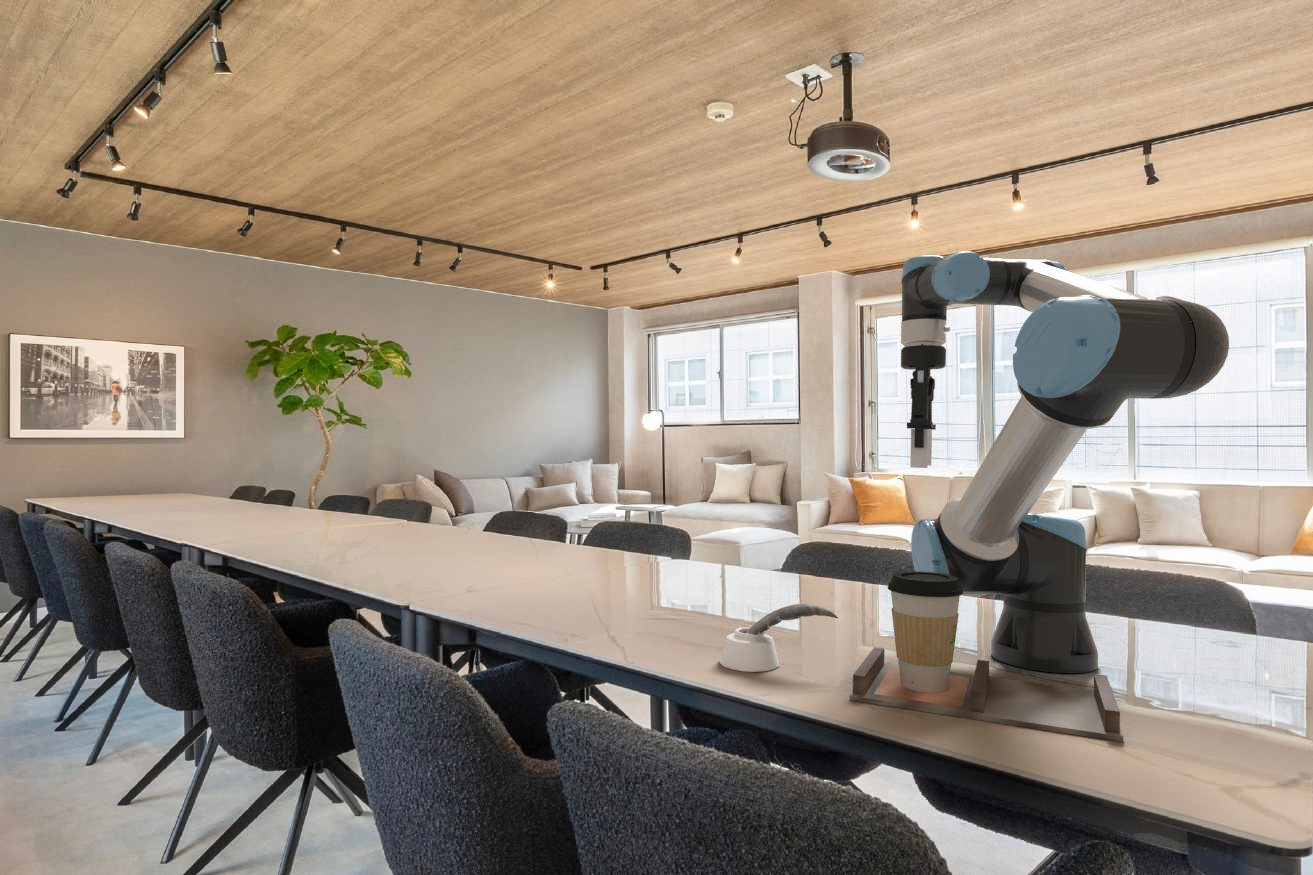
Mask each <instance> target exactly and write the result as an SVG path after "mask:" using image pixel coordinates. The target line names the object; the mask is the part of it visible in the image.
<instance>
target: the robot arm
mask: <svg viewBox="0 0 1313 875" xmlns="http://www.w3.org/2000/svg"><path fill="white" fill-rule="evenodd" d="M900 282H901V283H900V284H901V322H900V324H901V325H900V344H901V345H903V347H902V349H900V367H901V368H902V369H904V370H909V371H911V370H913V371H912V378H910V380H909V381H910V384H909V385H910V399H911V409H910V410H911V411H910V412H911V413H910V419H909V420H910V421H909V422H906V429H910V464H909V465H910V469H911V468H912V469H913V468H917V469H918V468H919V469H920V468H921V469H928V468H929V467H928V466H932V452H933V451H932V450H933V449H932V448H933V443H932V442H933V431H934V430H935V431H936V427H937V425H936V424H935V423H934V422H933V419H932V418H933V402H934V397H935V396H934V394H935V392H934V391H935V388H936V379H935V378H933V376H932V375H931V370H940V369H944V368H945V367H946V366H947V364H946V363H947V348H945V346H943V345H945V344H946V343H947V334H946V333H949V332H950V331H951V328H950V326H948V325H947V315H948V314H947V313H948V312H947V310H948V306H951V305H984V306H987V305H988V306H1014V307H1018V308H1021V309H1023V310H1026V311H1027V312H1031V313H1030V315H1029V316H1028V317H1027V318H1026V319H1025V321H1024V323H1023V324H1022V326H1021V327H1020V329H1019V332H1018V333H1017V336H1016V339H1015V343H1014V347H1015V348H1016V352H1014V353H1013V354H1012V367H1013V373H1014V376H1015V380H1016V383H1017V386H1016V387H1017V390H1018V392H1019V394H1020V395H1021V396H1020V398H1019V400H1018V402H1017V403H1016V404H1015V406H1014V408H1013V410H1012V412H1011V414H1009V416H1008V418H1007V420H1006V421H1005V424H1004V426H1003V427H1002V428H1001V431H1000V432H999V434H998V435H997V437H996V439H995V441H994V442H993V444H992V445H991V448H990V449H989V451H988V452H987V454H986V456H985V457H984V459H983V461H982V463H981V464H980V465H979V468H978V469H977V471H976V473H975V475H974V476H973V478H972V479H971V481H970V483H969V485H968V486H967V488H966V490H965V492H964V493H963V495H962V497H958V498H954V499H952V500H950V501H949V502H947V503H946V504H945V505H944V507H943V508H942V510H941V512H940V513H939V515H938V517H937V518H936V519H935V518H933V519H932V518H931V519H930V518H929V517H926V518H924V519H920V520H917V522H915V523H914V525H913V527H912V528H913V529H912V532H911V540H910V545H911V550H910V551H911V558H912V563H913V569H914V571H920V572H934V573H942V574H948V575H952V576H955V577H957V578H958V581H959V585H960V586H961V587H962V591H963V594H962V595H961V596H965V595H966V596H967V595H968V596H970V595H971V596H972V595H1003V603H1002V605H1003V607H1002V610H1001V613H1000V617H999V618H998V622H997V624H996V626H995V630H994V633H993V635H992V638H991V643H990V644H991V645H990V648H991V650H990V651H991V652H990V654H991V656H992V657H993V658H994V659H995V660H997V661H999V662H1001V663H1005V664H1007V665H1010V666H1014V667H1018V668H1023V669H1027V670H1032V671H1038V672H1046V673H1055V674H1056V673H1058V674H1083V673H1090V672H1094V671H1096V670H1097V669H1098V667H1099V652H1098V649H1097V646H1096V643H1095V638H1094V637H1093V634H1092V631H1091V628H1090V625H1089V623H1088V622H1089V621H1088V620H1087V616H1086V601H1087V600H1086V599H1087V597H1086V592H1087V591H1086V589H1087V588H1086V586H1087V585H1086V581H1087V580H1086V578H1087V577H1086V576H1087V574H1086V573H1087V568H1086V566H1087V565H1086V564H1087V552H1088V547H1087V538H1086V530H1085V527H1084V525H1083V524H1082V523H1081V522H1080V521H1078V520H1074V519H1070V518H1063V517H1056V516H1049V515H1042V514H1036V513H1031V512H1030V511H1031V510H1032V509H1033V507H1034V505H1035V504H1036V503H1037V501H1038V499H1039V498H1040V497H1041V496H1042V495H1043V493H1044V491H1045V490H1046V488H1047V487H1048V485H1049V484H1050V483H1051V482H1052V480H1053V478H1054V477H1055V475H1056V474H1057V473H1058V471H1059V469H1060V468H1061V467H1062V466H1063V464H1064V463H1065V461H1066V460H1067V458H1068V457H1069V456H1070V454H1071V453H1072V451H1073V450H1074V448H1075V447H1076V446H1077V444H1078V443H1079V441H1080V440H1081V439H1082V437H1083V436H1084V434H1085V433H1086V431H1087V430H1088V429H1089V430H1090V429H1097V428H1099V427H1102V426H1103V427H1104V426H1105V425H1106V424H1107V423H1109V422H1110V421H1111V420H1112V418H1113V417H1114V415H1115V414H1116V413H1117V411H1118V410H1119V409H1120V408H1121V406H1122V404H1123V403H1124V402H1125V401H1126V400H1129V399H1141V400H1142V399H1148V400H1150V399H1151V400H1152V399H1155V400H1156V399H1173V398H1178V397H1181V396H1183V397H1184V396H1186V395H1189V394H1192V393H1193V392H1196V391H1198V390H1200V389H1201V388H1202V387H1205V386H1206V385H1207V384H1209V383H1210V382H1212V381H1213V379H1215V377H1216V376H1217V375H1219V373H1220V371H1221V370H1222V368H1223V367H1224V365H1225V362H1226V360H1227V358H1228V356H1229V350H1230V336H1229V333H1228V330H1227V327H1226V326H1225V324H1224V322H1223V321H1222V319H1221V318H1220V317H1219V316H1218V315H1217V314H1216V313H1215V311H1212V310H1211V309H1209V308H1208V307H1206V306H1204V305H1201V304H1199V303H1196V302H1191V301H1188V300H1183V299H1180V298H1177V297H1173V296H1169V295H1158V296H1153V297H1146V296H1144V295H1143V296H1142V295H1139V294H1137V293H1134V292H1131V291H1127V290H1124V289H1121V288H1118V287H1115V286H1112V285H1109V284H1106V283H1103V282H1100V281H1097V280H1093V279H1090V278H1088V277H1085V276H1081V275H1078V274H1076V273H1072V272H1070V271H1068V270H1067V269H1066V268H1065V265H1064V264H1063V263H1061V262H1059V261H1055V260H1054V261H1052V260H1047V259H1041V258H1039V259H1037V258H1036V259H1012V258H1011V259H1009V258H1008V259H1007V258H996V257H995V258H989V257H983V256H982V255H980V254H978V253H976V252H974V251H970V250H969V251H968V250H967V251H960V252H956V253H951V254H950V255H947V256H945V257H944V256H941V255H935V254H934V255H931V254H930V255H929V254H928V255H927V254H926V255H919V256H914V257H909V258H908V259H906V260H905V261H904V263H903V265H902V277H901V281H900ZM946 325H947V326H946ZM933 423H934V424H933Z"/></svg>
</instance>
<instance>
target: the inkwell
mask: <svg viewBox="0 0 1313 875" xmlns="http://www.w3.org/2000/svg"><path fill="white" fill-rule="evenodd" d="M813 616H817V617H821V616H822V617H823V616H824V617H829V618H834V619H839V617H838V616H837V615H836V614H835V613H834V612H832V611H831V610H828V609H826V608H825V607H822V606H820V605H815V604H808V603H795V604H790V605H787V606H784V607H781V608H778V609H776V610H774V611H771V612H770V613H768V614H766V615H765V616H763V617H762V618H759V620H757V621H756V622H755V623H754V624H752V625H751V627H738V628H736V629H735V630H734V632H733V633H730V634H728V635H726V637H725V639H724V640H725V641H724V643H723V646H722V650H721V653H720V654H721V655H720V657H719V658H720V659H719V664H720V665H721V666H722V667H723V668H727V669H729V670H732V671H737V672H745V673H747V672H748V673H761V672H770V671H773V670H776V669H777V668H779V667H780V661H779V657H778V656H779V655H778V652H777V649H776V644H775V640H774V638H773V637H772V636H770V635H768V634H765V633H766V631H769V630H770V629H771V628H770V627H773V626H776V625H778V624H780V623H781V622H782V621H792V620H798V619H801V618H802V617H813Z"/></svg>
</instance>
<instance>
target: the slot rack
mask: <svg viewBox="0 0 1313 875" xmlns="http://www.w3.org/2000/svg"><path fill="white" fill-rule="evenodd" d="M848 696H849V701H852V702H859V703H866V704H873V705H880V706H886V707H891V708H892V707H893V708H899V709H904V710H912V711H919V712H924V713H932V714H937V715H944V716H952V717H958V718H965V719H971V720H977V721H984V722H990V723H995V724H997V723H998V724H1004V725H1009V726H1017V727H1023V728H1030V729H1037V730H1043V731H1049V732H1054V733H1055V732H1056V733H1062V734H1067V735H1068V734H1069V735H1076V736H1081V737H1082V736H1083V737H1088V738H1095V739H1101V740H1109V741H1115V742H1121V743H1124V735H1123V732H1122V730H1121V710H1120V708H1119V705H1118V703H1117V702H1118V701H1117V700H1116V697H1115V694H1114V692H1113V689H1112V687H1111V683H1110V681H1109V679H1108V674H1098V673H1093V689H1086V688H1078V687H1072V686H1071V687H1069V686H1062V685H1056V684H1055V685H1054V684H1048V683H1047V684H1046V683H1039V682H1034V681H1033V682H1032V681H1026V680H1025V681H1023V680H1015V679H1010V678H1009V679H1007V678H1000V677H994V676H993V677H992V676H990V661H989V660H984V659H983V660H981V659H977V662H976V666H975V671H974V674H969V673H960V672H956V671H955V672H954V671H950V678H949V686H948V690H947V691H944V692H939V693H927V692H919V691H914V690H910V689H907V688H905V687H903V686H902V685H901V681H900V671H899V664H894V663H893V664H891V663H886V662H885V648H884V647H876V646H874V647H873V648H872V649H871V650H870V652H869V653H868V655H867V656H866V657H865V658H864V660H863V661H862V663H860V665H859V666H858V668H857V669H856V670H855V672H854V673H853V675H852V691H851V693H850V695H848Z"/></svg>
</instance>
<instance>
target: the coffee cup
mask: <svg viewBox="0 0 1313 875" xmlns="http://www.w3.org/2000/svg"><path fill="white" fill-rule="evenodd" d="M887 589H888V590H889V591H890V596H891V602H892V603H891V604H892V607H891V615H892V625H893V627H892V628H893V634H894V642H895V643H894V644H895V652H896V658H897V660H898V665H899V671H900V681H901V685H902V686H903V687H905V688H907V689H910V690H914V691H919V692H927V693H939V692H944V691H947V690H948V686H949V678H950V672H951V668H952V664H953V661H954V660H953V659H954V654H955V645H956V638H957V629H958V623H959V605H960V604H959V602H960V596H963V595H962V594H963V591H962V587H961V586H960V585H959V581H958V578H957V577H955V576H952V575H948V574H942V573H934V572H920V571H915V570H913V571H912V570H911V571H910V570H909V571H897V572H894V573H893V574H892V576H891V581H889V582H888V585H887Z"/></svg>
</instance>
